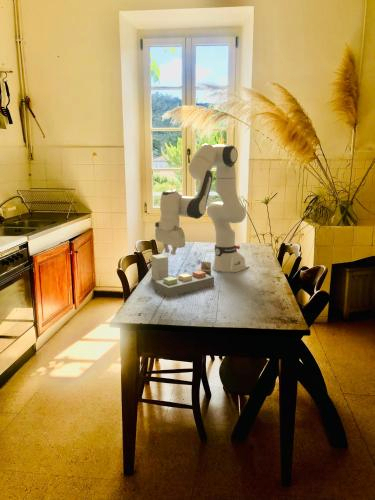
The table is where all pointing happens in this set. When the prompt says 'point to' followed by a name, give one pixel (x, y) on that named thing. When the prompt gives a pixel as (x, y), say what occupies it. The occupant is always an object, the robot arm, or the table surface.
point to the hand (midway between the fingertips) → (170, 253)
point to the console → (184, 285)
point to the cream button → (184, 277)
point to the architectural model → (206, 267)
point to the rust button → (199, 274)
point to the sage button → (170, 280)
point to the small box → (159, 267)
